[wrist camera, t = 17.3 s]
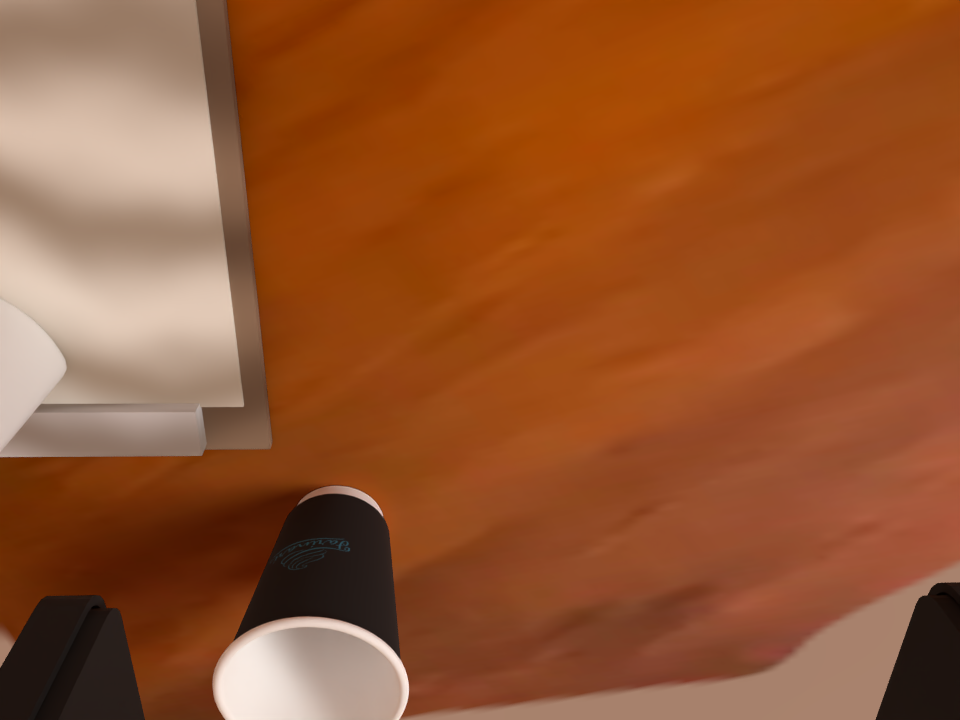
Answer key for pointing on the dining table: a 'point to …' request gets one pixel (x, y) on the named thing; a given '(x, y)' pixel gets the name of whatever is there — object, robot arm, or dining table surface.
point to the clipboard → (130, 226)
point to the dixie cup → (320, 621)
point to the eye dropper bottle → (24, 369)
